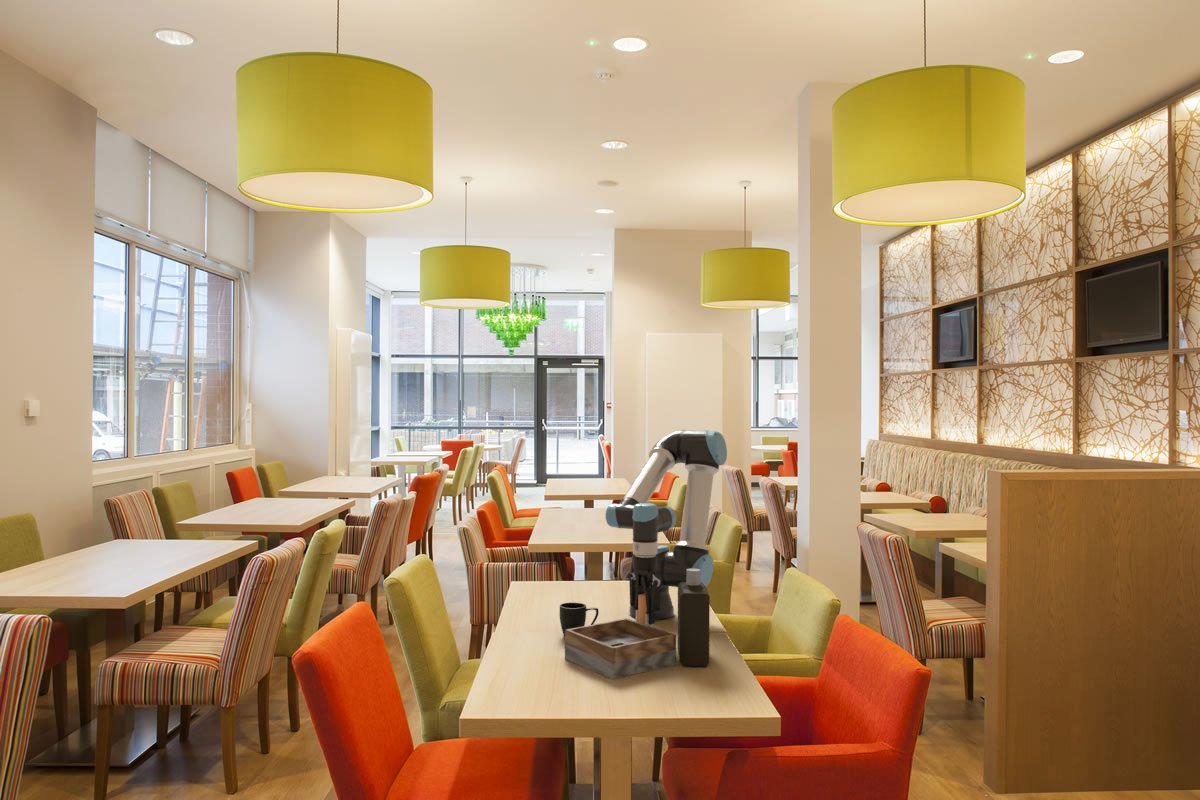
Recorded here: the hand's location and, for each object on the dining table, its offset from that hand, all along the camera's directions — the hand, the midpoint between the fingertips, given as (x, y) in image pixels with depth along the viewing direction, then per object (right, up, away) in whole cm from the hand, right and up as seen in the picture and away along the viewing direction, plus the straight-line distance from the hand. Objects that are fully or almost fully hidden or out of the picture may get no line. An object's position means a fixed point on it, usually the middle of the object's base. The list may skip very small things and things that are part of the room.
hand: (644, 632), depth 248 cm
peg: (0, -3, 0) cm, 3 cm away
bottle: (+13, -3, -17) cm, 21 cm away
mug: (-20, -3, +5) cm, 21 cm away
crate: (-8, -2, -20) cm, 21 cm away
